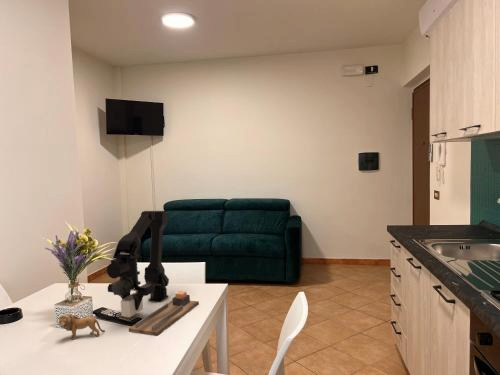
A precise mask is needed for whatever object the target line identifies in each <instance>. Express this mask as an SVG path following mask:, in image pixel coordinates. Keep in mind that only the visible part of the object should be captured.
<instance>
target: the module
mask: <svg viewBox="0 0 500 375" xmlns="http://www.w3.org/2000/svg"><path fill="white" fill-rule="evenodd" d="M134 294H135V292H133V293H130V295H129V296H127V297H125V298H123V299H122V298H121V300H120V311H121V317H124V318H125V317H126V318H131V317H133V316H134V315H136V314H137V313H139V312H141V311H143V310H144V304H143V302H144V300H143V298H142V301H141V303H140V306H139V309H138V310H136V309H135V300H134V297H133V296H132V295H134Z"/></svg>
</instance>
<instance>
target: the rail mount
mask: <svg viewBox="0 0 500 375" xmlns="http://www.w3.org/2000/svg"><path fill="white" fill-rule="evenodd" d="M190 297H191V296H190V294H187V296H186V297H185V298H183V299H180V298H175V296H173V297H172V299H171V301H168V302H167V303H165V304H164V305H162V306H161V307H159V308H157V309H156V310H154V311H153V312H151V313H150V314H149V315H147V316H145V317H143V318H142V319H141V320H139V321H137V322H136V323H135V324H133V325H132V326H130V327H129V328H128V332H130V333H136V334H144V335H149V336H154V337H155V336H156V337H157V336H159V335H160V334H161V333H163V332H164V331H165V330H167V329H168V328H169V327H170V326H172V325H174V324H175V323H177V321H179V320H180V319H181V318H183V317H184V316H185V315H186V314H188V313H189V312H190V311H192V310H193V309H194V308H196V307H197V306H198V305H199V300H198V301H196V300H191V298H190Z"/></svg>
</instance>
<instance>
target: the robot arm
mask: <svg viewBox="0 0 500 375" xmlns="http://www.w3.org/2000/svg"><path fill="white" fill-rule="evenodd" d="M168 220H169V214H168V213H167V211H165V210H144V211H141V213H140V217H138V219H137V221H136V223H135V224H134V225H133V227H132V229H131V230H130V231H129V233H126V234H125V235H123V236H122V237H121V238H120V239H119V240H118V242H117V245H116V248H115V251H114V253H113V257H112V258H113V259H110V264H108V265H107V268H106V273H107V275H108V277H109V278H111V279H114V280H115V279H117V278H119V279H118V280H116V281H113V282H111V283H110V284H108V286H107V292H108V293H113V295H114V296H119V297H120V299H121V300H122V299H123V298H125V297H127V296H129V295H131V291H132V292H134V293H135V294H134V295H132V296H133V297H134V300H135V309H136V310H138V309H139V306H140V303H141V301H142V299H143V298H144V296H145V297H146V296H150V298H148V301H152V302H162V301H163V300H166V299H167V298H169V295H168V292H167V291H168V290H167V287H168V286H169V282H170V279H169V278H168V276H167V275H166V274H165V267H164V266H163V263H162V255H163V254H162V253H163V238H164V237H163V236H164V230H165V228H166V227H167V225H168ZM148 228H150V230H151V237H150V238H151V239H150V253H149V254H150V255H149V256H150V257H149V264H148V266H147V267H145V268H144V276H143V277H144V282H145V283H144V284H142V285H141V281H139V275H140V274H141V271H139V270H138V258H139V257H140V253H138V251H139V249H140V248H141V245H142V243H141V240H142V238H143V236H144V234H145V232H146V231H147V230H148Z"/></svg>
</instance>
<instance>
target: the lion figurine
mask: <svg viewBox="0 0 500 375" xmlns="http://www.w3.org/2000/svg"><path fill="white" fill-rule="evenodd" d="M58 325H59V326H60V327H61V329H63V330H64V329H65V330H66V331H67V332H71V333H72V334H71V338H70V339H71V340H73V341H74V340H75V339H76V338H77V330H84V329H86V328H87V327H88V328H89V329H90V330H91V331H90V332H89V335H93V334H94V333H96V334H95V337H97V338H98V337H99V336H100V334H101V333H105V332H106V330H104V329H102V328H101V325H100V323H99V321H98V319H97V318H96V317H94V316H88V317H83V318H80V317H78V316H76V315H72V314H71V313H70V314H69V313H65V314H64V313H63V314H62V315H60V316H58ZM97 327H98V328H97ZM100 331H101V333H100Z"/></svg>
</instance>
